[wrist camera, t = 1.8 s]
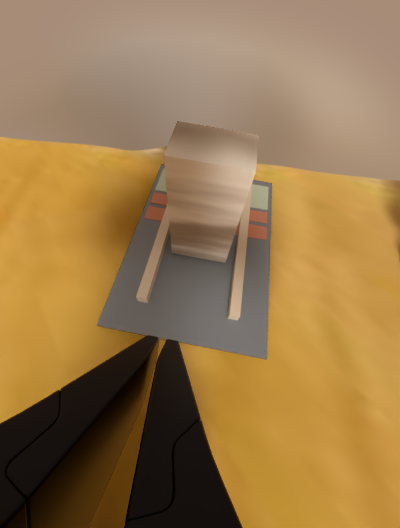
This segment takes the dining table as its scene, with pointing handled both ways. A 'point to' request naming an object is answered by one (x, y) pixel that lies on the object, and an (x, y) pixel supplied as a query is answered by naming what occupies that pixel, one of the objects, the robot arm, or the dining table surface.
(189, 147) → the cream block
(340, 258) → the dining table surface
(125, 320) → the track
